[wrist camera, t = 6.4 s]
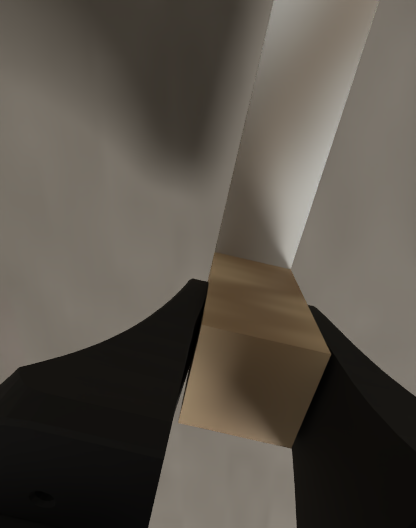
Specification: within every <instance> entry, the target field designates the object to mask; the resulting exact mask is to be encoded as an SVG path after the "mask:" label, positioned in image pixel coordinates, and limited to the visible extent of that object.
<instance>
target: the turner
mask: <svg viewBox="0 0 416 528" xmlns="http://www.w3.org/2000/svg"><path fill="white" fill-rule="evenodd" d="M379 1H380V0H274V1H273V5H272V9H271V14H270V18H269V22H268V26H267V31H266V35H265V39H264V43H263V48H262V52H261V56H260V61H259V65H258V69H257V73H256V78H255V82H254V86H253V90H252V95H251V99H250V103H249V108H248V112H247V116H246V120H245V125H244V129H243V133H242V137H241V142H240V146H239V150H238V155H237V159H236V163H235V167H234V172H233V176H232V180H231V184H230V189H229V193H228V197H227V202H226V206H225V210H224V214H223V219H222V223H221V227H220V231H219V236H218V240H217V244H216V249H215V253H214V257H213V261H212V266H211V270H210V274H209V279H208V282H209V285H208V291H207V296H206V300H205V305H204V309H203V313H202V317H201V321H200V326H199V330H198V334H197V338H196V342H195V346H194V351H193V355H192V359H191V363H190V367H189V372H188V377H187V382H186V387H185V392H184V397H183V402H182V407H181V412H180V417H179V422H178V423H181V424H186V425H190V426H195V427H199V428H203V429H208V430H212V431H217V432H221V433H225V434H230V435H234V436H239V437H243V438H247V439H252V440H256V441H261V442H265V443H269V444H274V445H278V446H283V447H287V448H292V445H293V443H294V441H295V438H296V436H297V433H298V431H299V429H300V426H301V424H302V422H303V419H304V417H305V415H306V412H307V410H308V408H309V405H310V403H311V401H312V398H313V396H314V394H315V391H316V389H317V386H318V384H319V382H320V379H321V377H322V375H323V372H324V370H325V368H326V365H327V363H328V361H329V358H330V356H331V353H330V351H329V349H328V347H327V345H326V342H325V340H324V338H323V336H322V334H321V332H320V330H319V328H318V326H317V324H316V322H315V320H314V317H313V315H312V313H311V311H310V309H309V307H308V305H307V303H306V301H305V299H304V297H303V295H302V292H301V290H300V288H299V286H298V284H297V282H296V280H295V278H294V276H293V274H292V272H291V270H290V269H291V266H292V263H293V260H294V257H295V254H296V251H297V248H298V245H299V242H300V239H301V236H302V233H303V230H304V227H305V224H306V221H307V218H308V215H309V212H310V209H311V206H312V203H313V200H314V197H315V194H316V191H317V188H318V185H319V182H320V179H321V176H322V173H323V169H324V166H325V163H326V160H327V157H328V154H329V151H330V148H331V145H332V142H333V139H334V136H335V133H336V130H337V127H338V124H339V121H340V118H341V115H342V112H343V109H344V106H345V103H346V100H347V97H348V94H349V91H350V88H351V85H352V82H353V79H354V76H355V73H356V70H357V67H358V64H359V61H360V58H361V55H362V52H363V49H364V46H365V43H366V40H367V37H368V34H369V31H370V28H371V25H372V22H373V19H374V16H375V13H376V10H377V7H378V4H379Z"/></svg>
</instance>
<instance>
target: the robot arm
mask: <svg viewBox="0 0 416 528" xmlns="http://www.w3.org/2000/svg"><path fill="white" fill-rule="evenodd" d="M208 285H209V282H206V281H201V280H197V279H191V280H189V281H188V283H187V284H186V285H185V286H184V287H183V288H182V289H181V290H180V291H179V292H178V293H177V294H176V295H175V296H174V297H173V298H172V299H171V300H170V301H169V302H167V303H166V304H165V305H164V306H163V307H161V308H160V309H159V310H157V311H156V312H155V313H153V314H152V315H151V316H149V317H148V318H146V319H145V320H143V321H142V322H140V323H138V324H137V325H135V326H133V327H132V328H130V329H128V330H126V331H124V332H122V333H120V334H119V335H116V336H114V337H112V338H110V339H108V340H106V341H104V342H101V343H99V344H96V345H93V346H91V347H88V348H85V349H83V350H80V351H77V352H74V353H71V354H68V355H64V356H61V357H57V358H54V359H50V360H46V361H42V362H39V363H35V364H31V365H27V366H23V367H19V368H18V369H17V370H16V371H15V372H14V373H13V374H12V375H11V376H10V377H8V378H7V379H6V380H5V381H4V382H3V383H2V384H1V385H0V528H148V525H149V521H150V517H151V512H152V508H153V504H154V499H155V495H156V491H157V486H158V482H159V478H160V473H161V469H162V465H163V460H164V456H165V452H166V447H167V443H168V438H169V434H170V430H171V425H172V421H173V417H174V413H175V410H176V407H177V404H178V401H179V397H180V394H181V391H182V388H183V385H184V382H185V379H186V376H187V373H188V370H189V367H190V363H191V359H192V355H193V351H194V346H195V342H196V338H197V334H198V330H199V326H200V321H201V317H202V313H203V309H204V305H205V300H206V296H207V291H208ZM308 307H309V309H310V311H311V313H312V315H313V317H314V320H315V322H316V324H317V326H318V328H319V330H320V332H321V334H322V336H323V338H324V340H325V342H326V345H327V347H328V349H329V351H330V353H331V356H330V358H329V361H328V363H327V365H326V368H325V370H324V372H323V375H322V377H321V379H320V382H319V384H318V386H317V389H316V391H315V394H314V396H313V398H312V401H311V403H310V405H309V408H308V410H307V412H306V415H305V417H304V419H303V422H302V424H301V426H300V429H299V431H298V433H297V436H296V438H295V441H294V443H293V445H292V455H293V469H294V483H295V501H296V520H297V528H416V397H415V396H414V395H413V394H411V393H410V392H409V391H407V390H406V389H405V388H404V387H402V386H401V385H400V384H398V383H397V382H396V381H395V380H393V379H392V378H391V377H390V376H388V375H387V374H386V373H385V372H384V371H382V370H381V369H380V368H379V367H378V366H377V365H376V364H374V363H373V362H372V361H371V360H370V359H369V358H368V357H367V356H365V355H364V354H363V353H362V352H361V351H360V350H359V349H358V348H357V347H356V346H355V345H354V344H353V343H352V342H351V341H350V340H349V339H348V338H347V337H346V336H345V335H344V334H343V333H342V332H341V331H340V330H339V329H338V328H337V327H336V326H335V325H334V324H333V323H332V322H331V321H330V320H329V319H328V318H327V317H326V316H324V315H323V314H322V313H321V312H320V311H319V310H318V309H317V308H316V307H314V306H310V305H308Z"/></svg>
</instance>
